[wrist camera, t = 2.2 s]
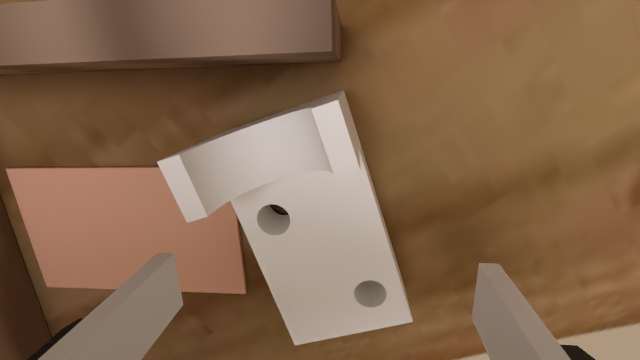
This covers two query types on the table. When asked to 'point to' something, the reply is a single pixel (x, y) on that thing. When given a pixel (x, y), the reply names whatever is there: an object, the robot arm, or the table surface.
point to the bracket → (302, 216)
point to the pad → (122, 229)
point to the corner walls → (140, 53)
